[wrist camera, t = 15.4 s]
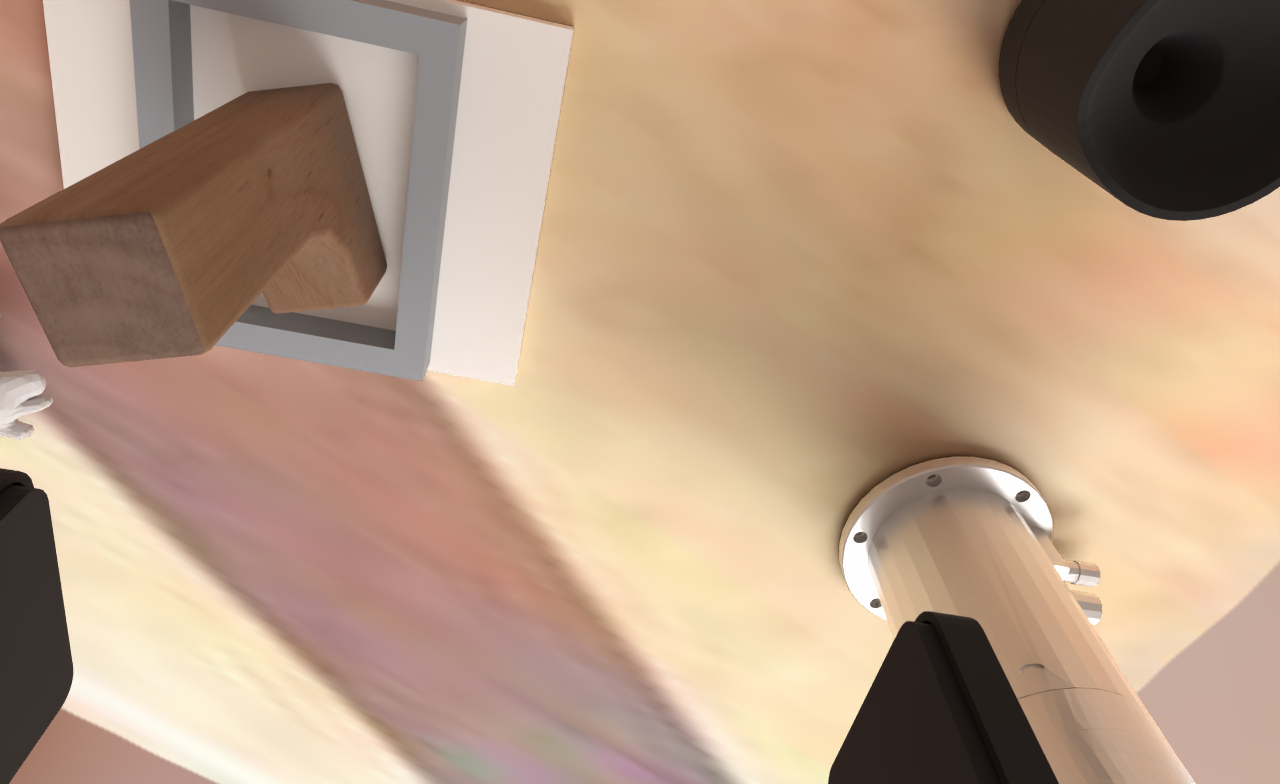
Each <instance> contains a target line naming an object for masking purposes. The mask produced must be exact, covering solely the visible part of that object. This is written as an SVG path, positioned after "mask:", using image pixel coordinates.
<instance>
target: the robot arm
mask: <svg viewBox="0 0 1280 784" xmlns="http://www.w3.org/2000/svg"><path fill="white" fill-rule="evenodd" d="M1052 538H1053V523H1052V516H1051V513H1050V511H1049V508H1048V506H1047V503H1046V501H1045V500H1044V498H1043V497H1042V495H1041V494H1040V492H1039V491H1038V489H1037V488H1036V487H1035V486H1034V485H1033V484H1032V483H1031V482H1030V481H1029V479H1028V478H1027V477H1026V476H1024V475H1023V474H1021V473H1020V472H1018V471H1017V470H1015V469H1014V468H1012V467H1010V466H1008V465H1005V464H1002V463H1000V462H997V461H994V460H990V459H984V458H979V457H958V456H953V457H946V458H939V459H933V460H929V461H926V462H923V463H919V464H916V465H913V466H910V467H908V468H906V469H904V470H902V471H900V472H898V473H895V474H893V475H892V476H890V477H889V478H887V479H886V480H884V481H883V482H881V483H880V484H878V485H877V486H875V487H874V488H873V489H872V490H871V491H870V492H869V493H868V494H867V495H866V496H865V497H864V498H862V499H861V501H860V502H859V503H858V505H857V506H856V507H855V509H854V510H853V511H852V513H851V514H850V516H849V518H848V520H847V522H846V524H845V526H844V528H843V531H842V535H841V539H840V543H839V562H840V565H841V569H842V573H843V576H844V579H845V581H846V584H847V586H848V589H849V591H850V592H851V593H852V595H853V596H854V597H855V599H856V600H857V601H858V602H859V603H860V604H861V605H862V606H863V607H864V608H865V609H867V610H868V611H869V612H871V613H873V614H875V615H877V616H879V617H881V618H882V619H885V620H887V622H888V625H889V628H890V630H891V633H892V636H893V639H894V641H893V643H892V646H891V648H890V650H889V652H888V654H887V656H886V658H885V660H884V662H883V664H882V666H881V668H880V670H879V672H878V674H877V676H876V678H875V680H874V682H873V684H872V686H871V688H870V690H869V692H868V694H867V696H866V698H865V700H864V702H863V704H862V706H861V708H860V710H859V712H858V714H857V716H856V718H855V720H854V722H853V724H852V726H851V729H850V731H849V733H848V735H847V737H846V739H845V741H844V743H843V745H842V747H841V749H840V751H839V753H838V755H837V757H836V759H835V761H834V763H833V765H832V767H831V770H830V774H829V781H828V784H1196V783H1195V782H1194V780H1193V779H1192V777H1191V776H1190V774H1189V773H1188V771H1187V770H1186V769H1185V767H1184V766H1183V764H1182V763H1181V761H1180V760H1179V759H1178V757H1177V755H1176V754H1175V752H1174V751H1173V749H1172V748H1171V746H1170V745H1169V743H1168V742H1167V740H1166V739H1165V737H1164V736H1163V734H1162V732H1161V731H1160V729H1159V728H1158V726H1157V725H1156V723H1155V722H1154V720H1153V719H1152V717H1151V716H1150V715H1149V713H1148V711H1147V709H1146V708H1145V707H1144V705H1143V703H1142V702H1141V700H1140V699H1139V697H1138V695H1137V694H1136V692H1135V691H1134V689H1133V688H1132V686H1131V685H1130V683H1129V681H1128V680H1127V678H1126V677H1125V675H1124V674H1123V672H1122V671H1121V669H1120V667H1119V666H1118V664H1117V663H1116V661H1115V660H1114V658H1113V657H1112V655H1111V654H1110V652H1109V650H1108V649H1107V647H1106V646H1105V644H1104V643H1103V641H1102V640H1101V638H1100V636H1099V635H1098V633H1097V632H1096V630H1095V629H1094V627H1093V626H1092V625H1096V624H1097V623H1098V621H1099V620H1100V618H1101V614H1102V604H1101V602H1100V599H1099V597H1097V596H1096V595H1095V594H1092V593H1085V592H1079V591H1073V590H1069V588H1068V587H1067V585H1066V584H1065V582H1070V583H1071V584H1076V585H1082V586H1088V587H1095V586H1096V585H1097V584H1098V582H1099V580H1100V570H1099V568H1098V566H1097V565H1095V564H1092V563H1086V562H1080V561H1067V560H1064V559H1063V558H1062V556H1061V555H1060V554H1059V553H1058V551H1057V550H1056V548H1055V547H1054V545H1053V544H1052ZM72 679H73V663H72V656H71V650H70V643H69V636H68V629H67V623H66V616H65V609H64V602H63V596H62V589H61V582H60V575H59V568H58V562H57V555H56V548H55V541H54V535H53V528H52V521H51V514H50V507H49V501H48V497H47V494H46V493H45V492H44V491H43V490H41V489H36V488H34V486H33V483H32V480H31V478H30V477H29V476H28V475H27V474H26V473H23V472H20V471H14V470H7V469H1V468H0V784H9V783H10V781H11V780H12V778H13V777H14V775H15V774H16V772H17V771H18V769H19V768H20V767H21V765H22V764H23V762H24V761H25V759H26V758H27V756H28V755H29V753H30V752H31V750H32V749H33V748H34V746H35V745H36V743H37V742H38V740H39V739H40V737H41V736H42V735H43V733H44V732H45V730H46V729H47V727H48V726H49V724H50V723H51V721H52V720H53V719H54V717H55V715H56V714H57V713H58V711H59V710H60V708H61V707H62V705H63V704H64V702H65V700H66V698H67V696H68V693H69V691H70V687H71V684H72Z"/></svg>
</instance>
